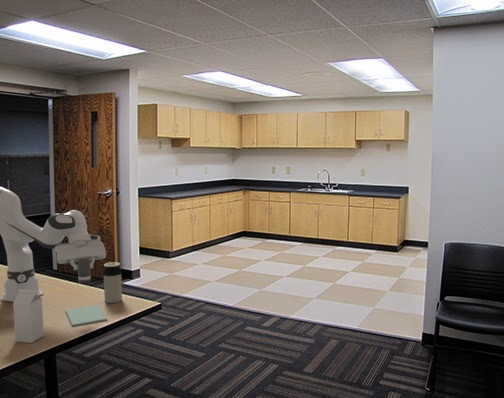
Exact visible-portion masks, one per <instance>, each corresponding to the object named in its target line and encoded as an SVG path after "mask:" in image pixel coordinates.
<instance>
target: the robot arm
mask: <svg viewBox="0 0 504 398" xmlns="http://www.w3.org/2000/svg"><path fill="white" fill-rule="evenodd" d="M0 237H1V238H2V242H3V246H4V249H5V253H6V261H7V271H6V276H7V277H6V278H7V280H6V281H5V282H4V283H3V288H4V293H3V294H2V296H1V297H0V301H3V302H5V301H7V302H13V303H14V301H15V299H16V297H17V295H18V293H19V290H24V291H36V294H37V295H38V296H39V297H41V296H43V295H44V292H43V291H42V290H41V289H40V285H39V279H38V277H36V276H35V267H34V259H33V258H34V257H33V251H32V249H31V248H30V246H29V243H32V242H34V241H36V242H37V243H38V244H39V245H40V246H41V247H43V248H45V249H48V250H54V251H55V253H56V262H57V263H58V264H59V265H60V264H61V265H62V264H69V263H70V265H71V266H72V267H73V270H74V271H78V264H76V263H78V261H79V260H80V259H82V258H87V259H88V260H89V261H90V269H94V264H95V260H104V259H105V258H106V256H107V251H106V247H105V244H104V243H103V242H102V241H101V236H100V235H96V234H95V235H94V234H89V232H88V225H87V221H86V217H85V216H84V214H83V212H81V211H79V210H76V209H71V210H69V211H67V212H66V213H65V212H64V213H58V212H57V213H52V214H51V215H50V216H49V217H48V218H47V220H46V222H45V224H44V226H43V227H41V226H39V225H37V224H36V223H34V222H33V221H30V219H27V218H26V217H25V216H24V213H23V211H22V202H21V200H20V197H19V196H18V195H17V194H16V193H15V192H13V191H12V190H9V189H7V188H4V187H3V186H0ZM65 237H66V238H67V240H68V242H66V243H63V241H64V238H65Z"/></svg>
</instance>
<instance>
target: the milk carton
mask: <svg viewBox="0 0 504 398" xmlns="http://www.w3.org/2000/svg"><path fill="white" fill-rule="evenodd" d="M12 306H13V323H14V324H13V325H14V337H15V338H14V339H15V342H16V343H28V344H33V343H34V342H36V341H37V340H39V339H41V338H42V337H43V336H45V335H44V333H45V332H44V317H43V316H44V315H43V314H44V313H43V300H42V297H41V296H38V295H37V294H36V291H24V290H19V293H18V295H17V297H16V299H15V301H14V302H13V303H12Z"/></svg>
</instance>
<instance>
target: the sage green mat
mask: <svg viewBox="0 0 504 398" xmlns="http://www.w3.org/2000/svg"><path fill="white" fill-rule="evenodd" d="M65 313H66V315H67V318H68V320H69V322H70V325H71V327H79V326H84V325H89V324H96V323H100V322H101V323H102V322H105V321H106V322H107V321H108V317H107V315H105V313H104V311H103V310H102V308H101V307H100V305H98V304H96V305H90V306H83V307H78V308H72V309H66V310H65Z"/></svg>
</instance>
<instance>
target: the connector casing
mask: <svg viewBox="0 0 504 398" xmlns="http://www.w3.org/2000/svg"><path fill="white" fill-rule="evenodd" d="M90 263H91V261H90V260H88V259H87V258H82V259H80V260H79V261H78V262H77V265H78V270H77V272H78V278H77V279H78V283H79V284H87V283H88V284H89V283H90V282H92V281H91V278H92V276H91V268H90Z"/></svg>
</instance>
